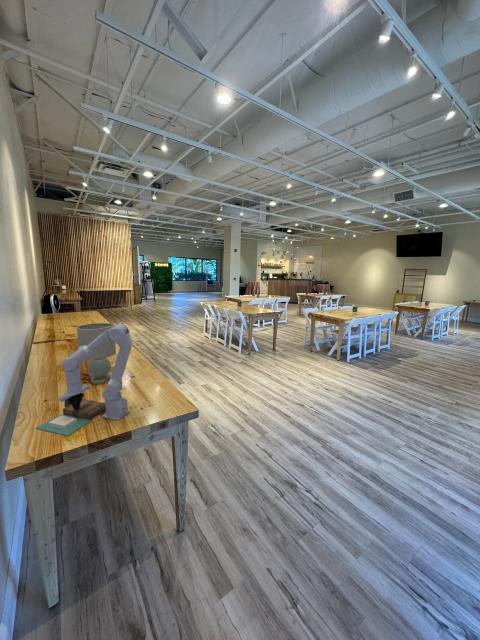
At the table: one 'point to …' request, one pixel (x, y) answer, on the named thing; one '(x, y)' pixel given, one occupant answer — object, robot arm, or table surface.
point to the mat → (68, 431)
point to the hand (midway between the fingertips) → (76, 409)
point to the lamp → (97, 350)
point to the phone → (67, 403)
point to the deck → (85, 409)
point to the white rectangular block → (62, 422)
